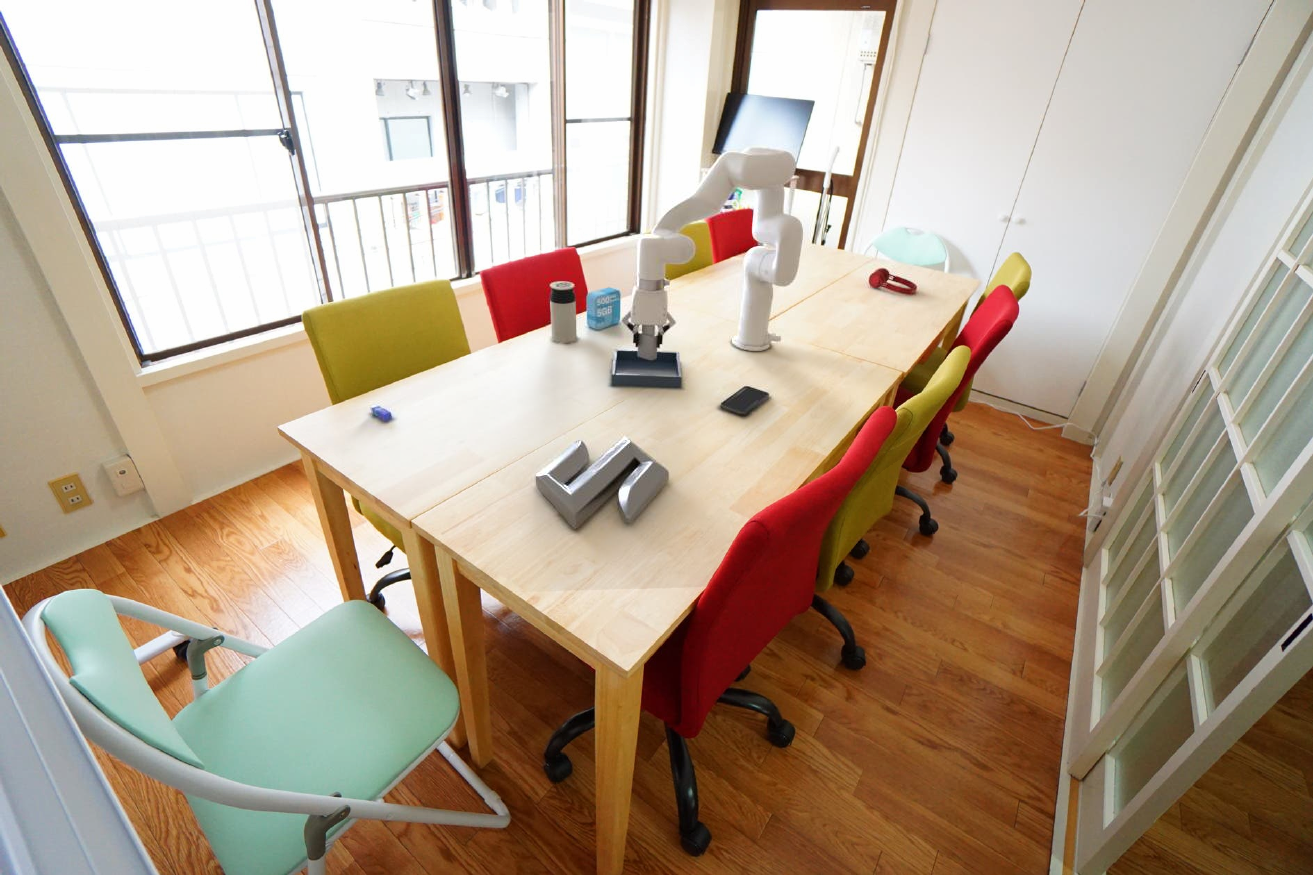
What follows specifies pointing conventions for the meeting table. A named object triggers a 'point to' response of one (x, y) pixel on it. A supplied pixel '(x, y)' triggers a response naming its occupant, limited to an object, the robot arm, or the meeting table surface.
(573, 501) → the emblem
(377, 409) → the eraser
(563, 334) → the travel mug
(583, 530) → the meeting table surface
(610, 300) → the data package
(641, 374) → the tray
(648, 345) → the power adapter
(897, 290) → the headphones
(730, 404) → the phone
